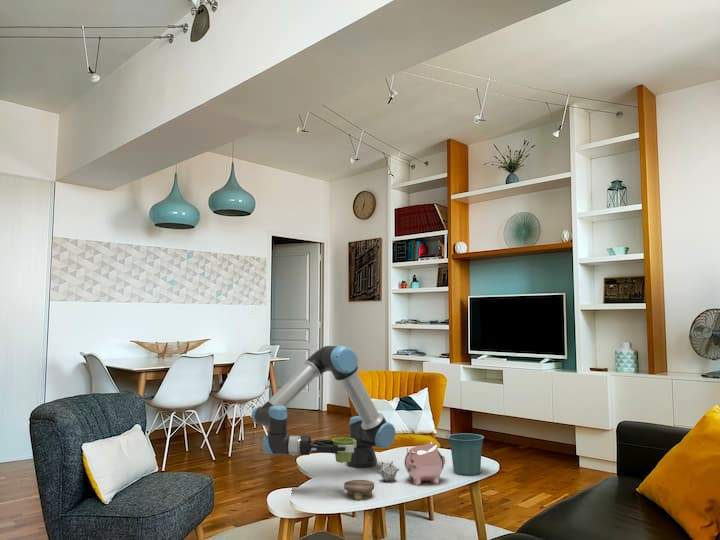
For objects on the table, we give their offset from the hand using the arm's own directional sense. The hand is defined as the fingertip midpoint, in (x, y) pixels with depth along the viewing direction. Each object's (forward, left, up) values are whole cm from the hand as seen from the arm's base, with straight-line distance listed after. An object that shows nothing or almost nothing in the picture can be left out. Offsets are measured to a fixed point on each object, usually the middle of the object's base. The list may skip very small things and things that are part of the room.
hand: (354, 446), depth 225 cm
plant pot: (0, -5, -6) cm, 8 cm away
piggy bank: (-18, +29, -18) cm, 39 cm away
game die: (-17, +13, -18) cm, 28 cm away
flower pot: (-34, +49, -18) cm, 62 cm away
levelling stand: (+5, +2, -18) cm, 19 cm away
